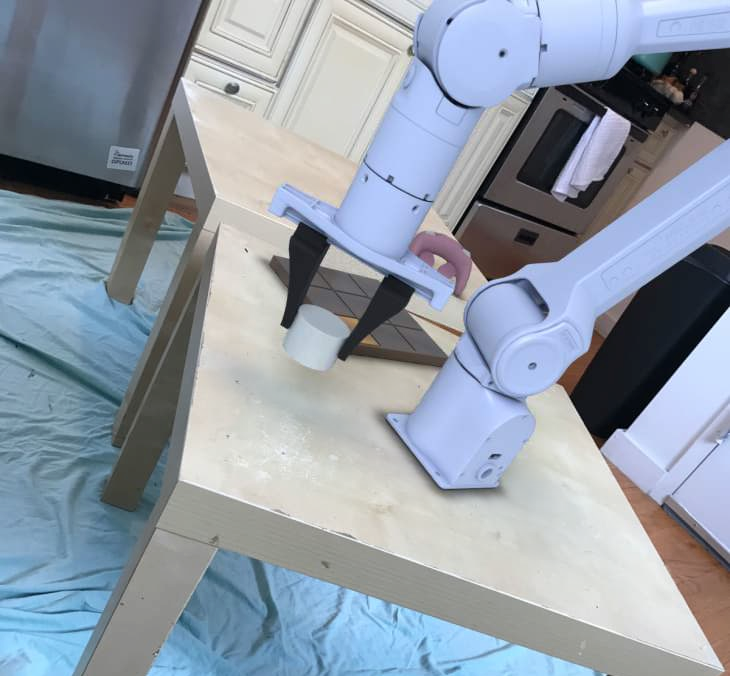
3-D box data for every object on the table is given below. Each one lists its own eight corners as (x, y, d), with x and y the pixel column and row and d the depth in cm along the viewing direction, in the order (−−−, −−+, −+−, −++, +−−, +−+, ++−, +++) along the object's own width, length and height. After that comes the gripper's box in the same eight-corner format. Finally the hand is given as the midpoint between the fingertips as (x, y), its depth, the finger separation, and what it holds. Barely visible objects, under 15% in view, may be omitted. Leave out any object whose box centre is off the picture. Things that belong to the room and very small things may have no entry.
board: (445, 367, 85) (450, 358, 84) (338, 352, 74) (344, 341, 73) (374, 288, 93) (379, 279, 92) (268, 264, 82) (273, 254, 81)
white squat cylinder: (342, 373, 60) (360, 341, 58) (297, 368, 57) (315, 334, 55) (316, 340, 62) (333, 308, 61) (272, 334, 59) (288, 300, 58)
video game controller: (454, 299, 111) (476, 256, 110) (462, 297, 106) (485, 252, 106) (396, 267, 109) (418, 223, 108) (402, 263, 104) (425, 217, 104)
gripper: (489, 222, 56) (401, 366, 63) (320, 118, 54) (249, 279, 62) (486, 243, 50) (389, 400, 57) (296, 128, 48) (221, 304, 56)
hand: (315, 339), depth 59 cm, fingers closed on white squat cylinder, 4 cm apart
